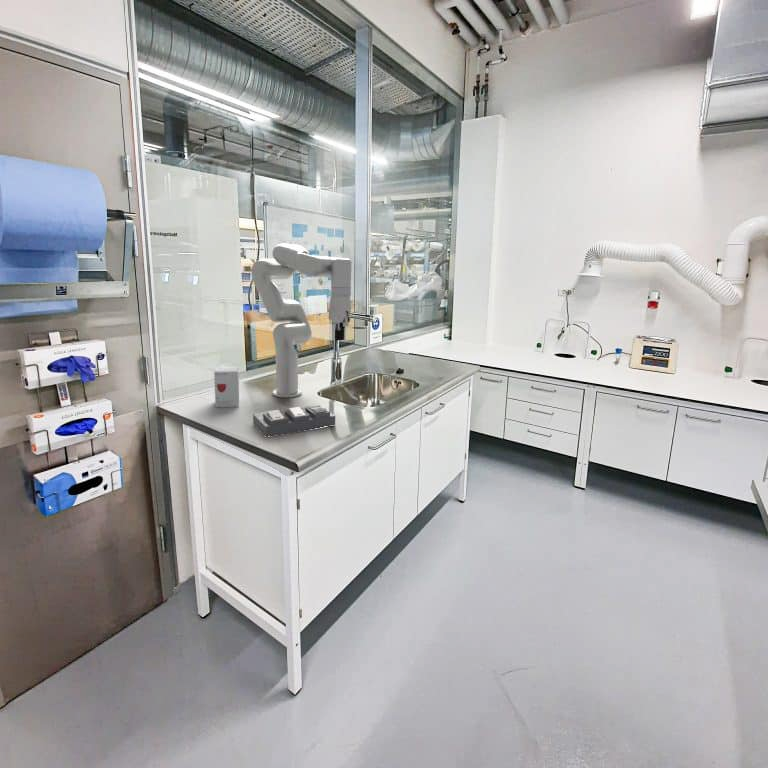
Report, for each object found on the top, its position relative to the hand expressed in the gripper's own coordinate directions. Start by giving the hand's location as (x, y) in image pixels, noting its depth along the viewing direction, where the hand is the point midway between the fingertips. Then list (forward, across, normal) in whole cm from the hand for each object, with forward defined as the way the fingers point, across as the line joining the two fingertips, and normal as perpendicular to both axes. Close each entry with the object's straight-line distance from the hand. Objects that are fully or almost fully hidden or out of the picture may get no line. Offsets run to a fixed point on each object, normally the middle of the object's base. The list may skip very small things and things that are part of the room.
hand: (339, 339), depth 175 cm
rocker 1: (+24, +10, -30) cm, 40 cm away
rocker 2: (+24, +10, -14) cm, 30 cm away
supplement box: (+29, -26, -37) cm, 54 cm away
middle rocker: (+24, +10, -22) cm, 34 cm away
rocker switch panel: (+29, +8, -22) cm, 37 cm away
